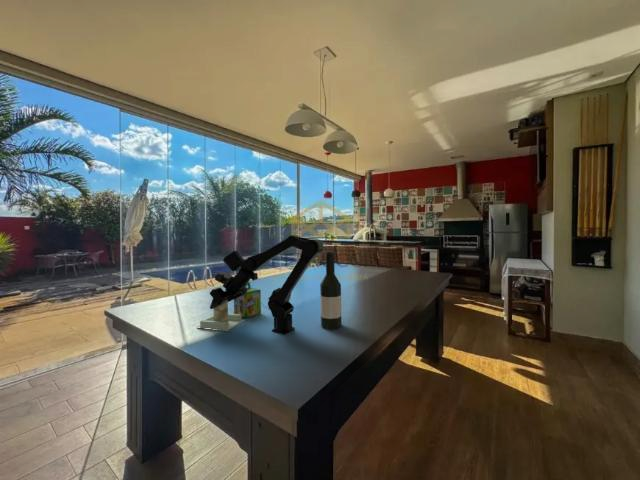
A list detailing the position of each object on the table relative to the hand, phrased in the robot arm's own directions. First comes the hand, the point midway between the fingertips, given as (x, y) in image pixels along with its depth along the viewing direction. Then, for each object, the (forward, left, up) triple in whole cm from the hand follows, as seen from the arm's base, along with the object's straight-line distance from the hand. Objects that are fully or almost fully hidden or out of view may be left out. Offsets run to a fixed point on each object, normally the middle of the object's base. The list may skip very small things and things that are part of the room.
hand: (217, 305), depth 114 cm
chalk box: (0, -16, -8) cm, 18 cm away
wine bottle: (-42, -20, -8) cm, 48 cm away
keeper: (-1, 0, -8) cm, 8 cm away
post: (-1, 0, -7) cm, 8 cm away
